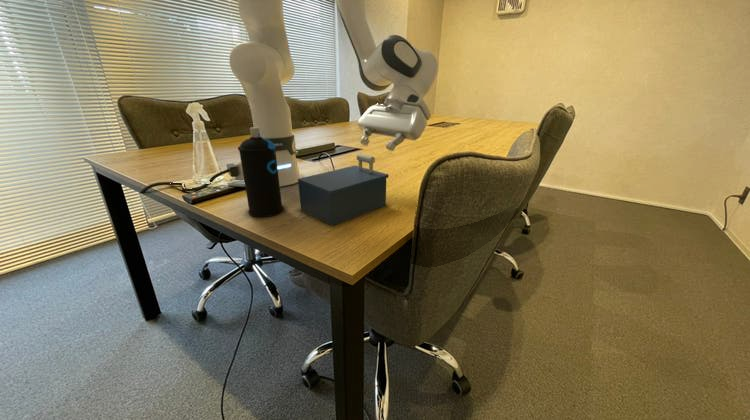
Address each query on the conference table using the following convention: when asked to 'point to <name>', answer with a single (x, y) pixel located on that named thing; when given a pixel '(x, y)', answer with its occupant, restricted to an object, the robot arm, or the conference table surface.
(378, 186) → the box
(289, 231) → the conference table surface
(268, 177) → the aerosol can
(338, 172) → the lid
